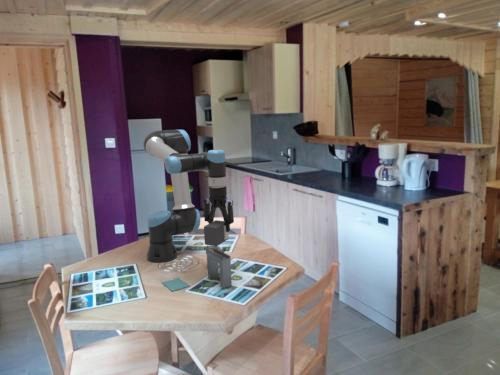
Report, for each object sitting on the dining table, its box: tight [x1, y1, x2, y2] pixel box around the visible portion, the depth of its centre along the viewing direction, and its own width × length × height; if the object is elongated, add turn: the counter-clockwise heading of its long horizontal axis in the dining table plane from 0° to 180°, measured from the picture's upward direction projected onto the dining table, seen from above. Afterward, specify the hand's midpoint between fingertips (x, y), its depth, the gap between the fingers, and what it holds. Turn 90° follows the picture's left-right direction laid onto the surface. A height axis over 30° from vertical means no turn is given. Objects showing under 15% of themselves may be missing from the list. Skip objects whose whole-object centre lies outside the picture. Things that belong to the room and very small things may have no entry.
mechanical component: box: [203, 245, 227, 255], centre depth 196 cm, size 3×10×10 cm, turn 78°
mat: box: [161, 277, 191, 292], centre depth 178 cm, size 11×8×1 cm
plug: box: [203, 219, 229, 247], centre depth 179 cm, size 6×12×8 cm, turn 154°
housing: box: [205, 248, 233, 289], centre depth 178 cm, size 14×4×13 cm, turn 34°
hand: (219, 237), depth 181 cm, fingers closed on plug, 6 cm apart
